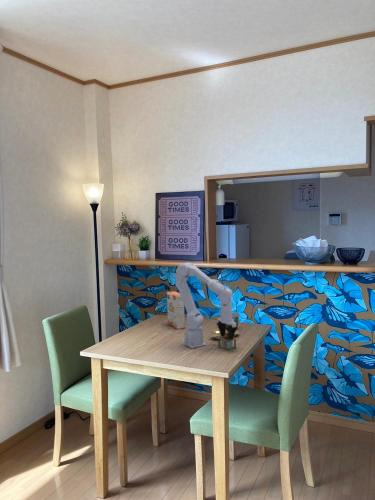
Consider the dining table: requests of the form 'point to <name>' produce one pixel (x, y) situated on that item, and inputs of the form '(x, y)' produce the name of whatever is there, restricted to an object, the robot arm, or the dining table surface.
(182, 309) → the cracker box
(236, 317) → the food container
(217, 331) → the balance
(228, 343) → the block
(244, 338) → the dining table surface
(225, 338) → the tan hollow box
